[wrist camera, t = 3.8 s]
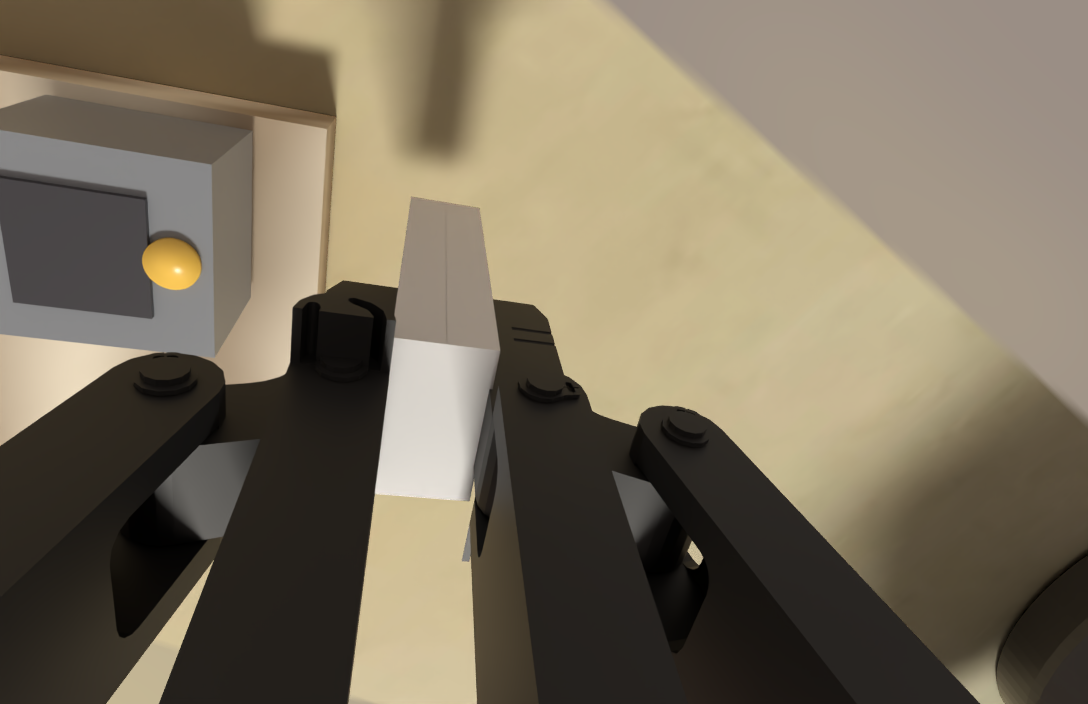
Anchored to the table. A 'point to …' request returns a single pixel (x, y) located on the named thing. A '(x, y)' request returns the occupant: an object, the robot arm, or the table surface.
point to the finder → (122, 226)
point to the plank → (276, 235)
